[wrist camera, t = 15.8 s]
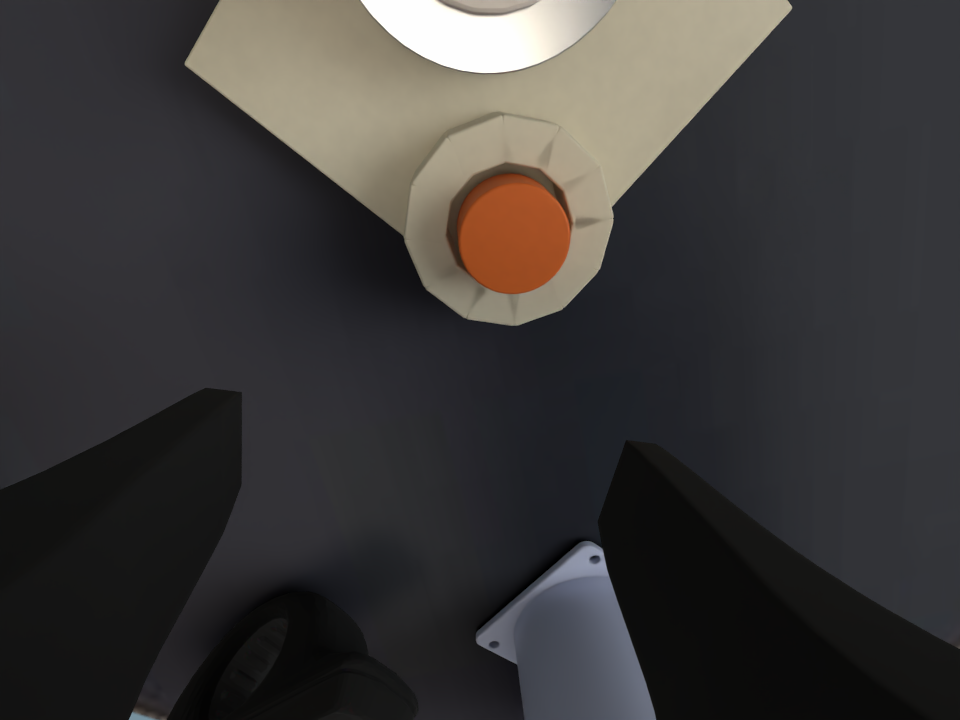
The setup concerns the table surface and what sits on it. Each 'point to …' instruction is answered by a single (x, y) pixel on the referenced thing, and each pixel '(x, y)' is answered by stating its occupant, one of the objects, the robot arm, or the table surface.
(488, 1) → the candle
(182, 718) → the controller
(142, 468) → the robot arm
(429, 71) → the scale
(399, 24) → the weighing pan
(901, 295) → the table surface
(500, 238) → the tare button
